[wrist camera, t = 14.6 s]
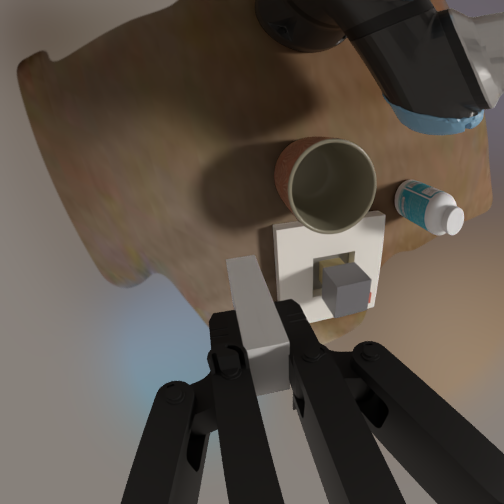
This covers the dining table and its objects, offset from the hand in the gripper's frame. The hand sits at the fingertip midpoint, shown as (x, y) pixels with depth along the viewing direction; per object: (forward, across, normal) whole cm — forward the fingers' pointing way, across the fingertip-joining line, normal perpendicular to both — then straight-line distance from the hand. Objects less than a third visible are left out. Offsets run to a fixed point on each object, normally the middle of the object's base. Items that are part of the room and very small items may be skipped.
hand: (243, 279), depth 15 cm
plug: (+29, +18, -19) cm, 39 cm away
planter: (+30, +14, -1) cm, 33 cm away
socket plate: (+29, +18, -19) cm, 39 cm away
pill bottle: (+30, +35, -7) cm, 46 cm away
